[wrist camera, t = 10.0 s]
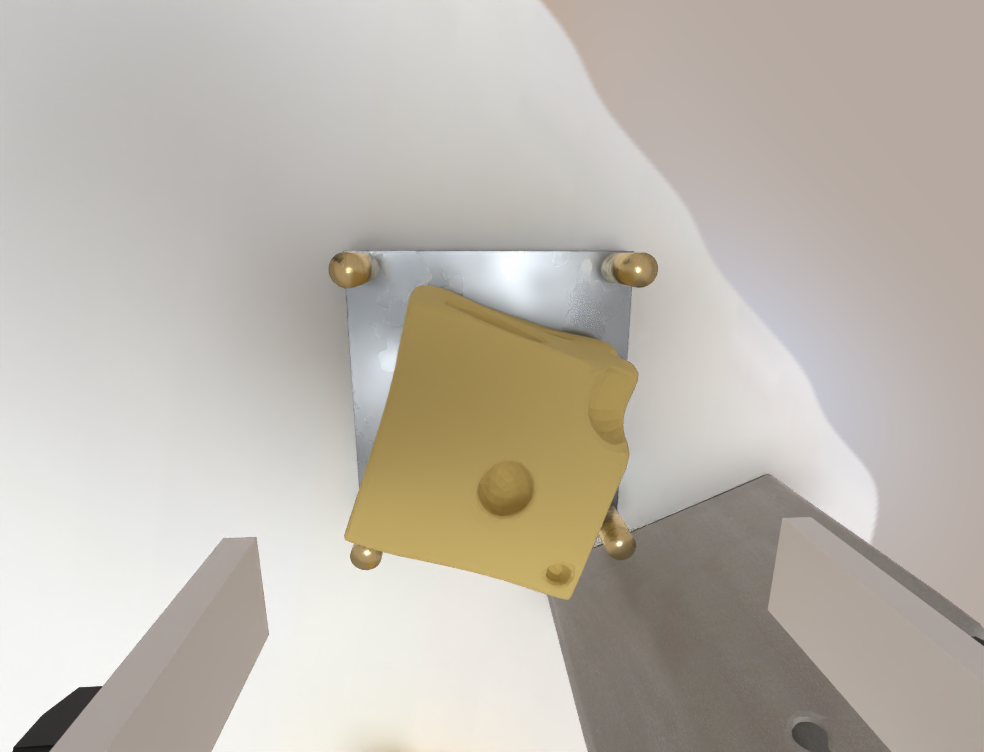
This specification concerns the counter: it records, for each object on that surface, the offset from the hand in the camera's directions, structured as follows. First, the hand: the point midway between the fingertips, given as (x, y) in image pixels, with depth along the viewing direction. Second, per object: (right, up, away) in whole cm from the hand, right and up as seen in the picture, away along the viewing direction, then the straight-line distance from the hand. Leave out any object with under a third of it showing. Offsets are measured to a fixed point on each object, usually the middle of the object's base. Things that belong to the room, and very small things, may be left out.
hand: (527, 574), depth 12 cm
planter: (+11, -8, +21) cm, 25 cm away
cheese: (-1, +4, +16) cm, 17 cm away
